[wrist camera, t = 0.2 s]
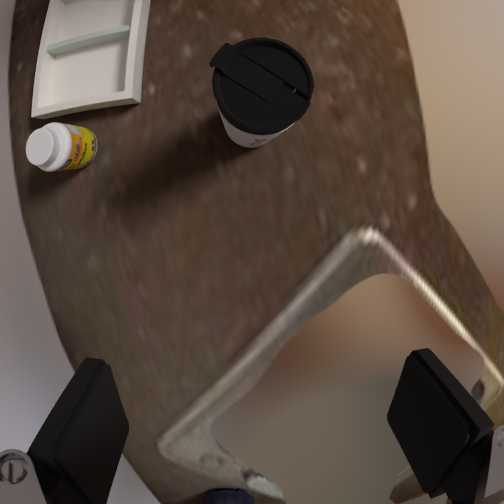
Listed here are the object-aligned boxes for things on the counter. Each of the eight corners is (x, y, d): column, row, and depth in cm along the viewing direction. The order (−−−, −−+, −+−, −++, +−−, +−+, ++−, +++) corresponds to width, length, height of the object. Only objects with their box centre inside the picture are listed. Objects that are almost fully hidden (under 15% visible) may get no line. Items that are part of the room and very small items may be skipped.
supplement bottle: (83, 177, 35) (40, 184, 26) (58, 152, 34) (13, 154, 24) (107, 143, 35) (67, 139, 25) (81, 119, 33) (38, 110, 23)
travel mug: (240, 87, 34) (245, 15, 14) (286, 116, 35) (337, 72, 16) (212, 128, 35) (184, 92, 16) (258, 157, 36) (281, 152, 17)
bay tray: (62, 1, 27) (52, -7, 24) (154, -22, 28) (148, -34, 24) (45, 119, 33) (31, 117, 29) (140, 103, 33) (131, 97, 30)
